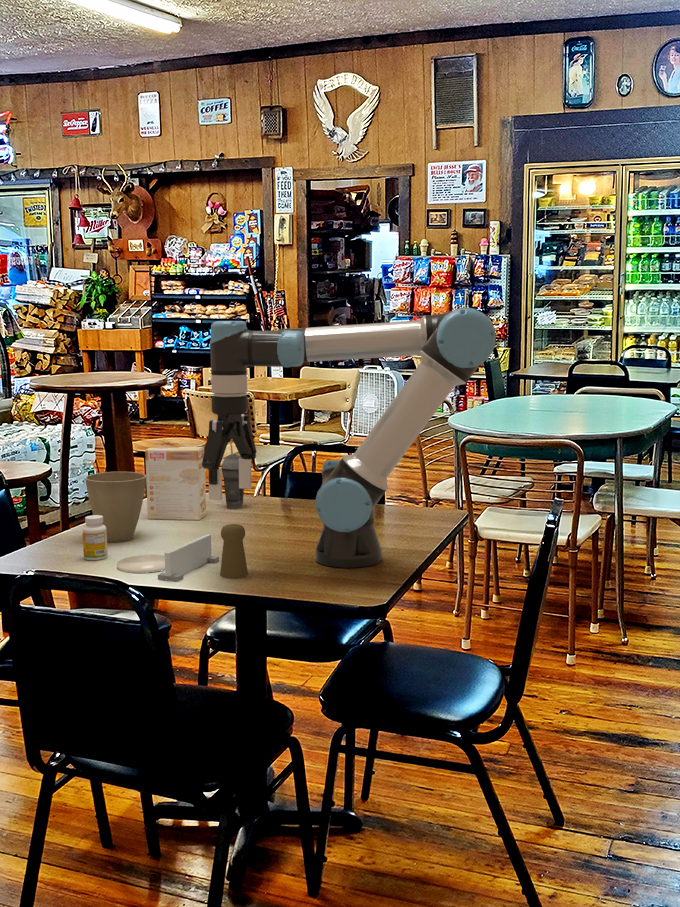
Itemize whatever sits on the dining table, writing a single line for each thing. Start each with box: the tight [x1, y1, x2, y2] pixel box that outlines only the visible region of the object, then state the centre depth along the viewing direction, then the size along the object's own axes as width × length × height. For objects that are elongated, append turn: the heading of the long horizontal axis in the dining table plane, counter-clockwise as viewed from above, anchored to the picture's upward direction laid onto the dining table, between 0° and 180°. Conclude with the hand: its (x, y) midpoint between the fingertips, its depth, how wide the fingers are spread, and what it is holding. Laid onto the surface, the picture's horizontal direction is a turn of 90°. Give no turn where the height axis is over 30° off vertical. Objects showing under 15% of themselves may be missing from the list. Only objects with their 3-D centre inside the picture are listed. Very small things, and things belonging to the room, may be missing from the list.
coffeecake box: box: [144, 446, 207, 521], centre depth 265 cm, size 15×7×20 cm, turn 82°
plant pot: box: [84, 471, 146, 543], centre depth 241 cm, size 15×15×16 cm
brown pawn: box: [219, 523, 249, 579], centre depth 208 cm, size 6×6×11 cm
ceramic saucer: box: [116, 554, 165, 574], centre depth 216 cm, size 13×13×1 cm
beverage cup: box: [220, 439, 245, 510], centre depth 278 cm, size 7×7×20 cm
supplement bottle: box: [82, 514, 109, 561], centre depth 223 cm, size 5×5×10 cm
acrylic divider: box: [157, 533, 220, 582], centre depth 212 cm, size 5×18×6 cm, turn 159°
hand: (230, 494), depth 206 cm, fingers open, 13 cm apart
